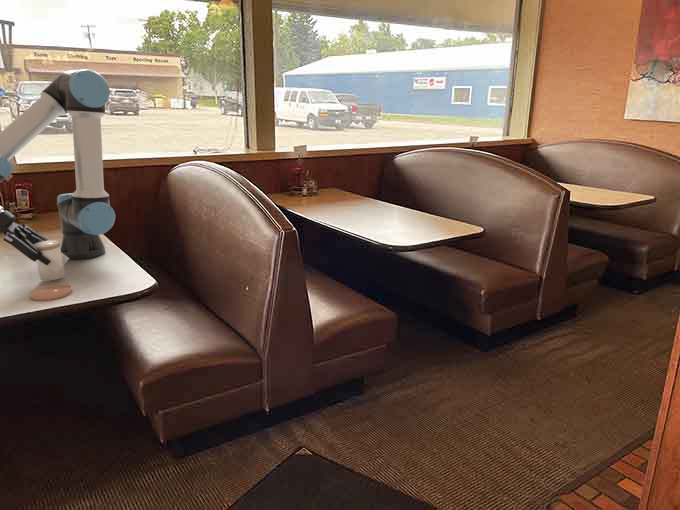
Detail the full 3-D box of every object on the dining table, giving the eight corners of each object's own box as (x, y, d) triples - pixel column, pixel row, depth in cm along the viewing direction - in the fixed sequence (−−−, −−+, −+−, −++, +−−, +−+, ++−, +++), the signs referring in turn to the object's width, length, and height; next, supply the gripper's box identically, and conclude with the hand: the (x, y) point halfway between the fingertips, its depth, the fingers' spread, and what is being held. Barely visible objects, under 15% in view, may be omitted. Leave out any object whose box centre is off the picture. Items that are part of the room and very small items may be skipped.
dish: (37, 289, 158) (36, 285, 157) (76, 286, 160) (75, 282, 160) (24, 302, 147) (23, 298, 147) (66, 299, 150) (65, 295, 149)
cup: (43, 274, 167) (36, 241, 164) (67, 271, 169) (61, 239, 166) (37, 281, 161) (30, 247, 157) (62, 279, 162) (56, 245, 159)
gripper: (0, 220, 166) (64, 264, 174) (-27, 235, 147) (45, 284, 155) (15, 202, 165) (78, 248, 173) (-10, 216, 147) (61, 266, 155)
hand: (63, 265), depth 164 cm, fingers closed on cup, 7 cm apart
